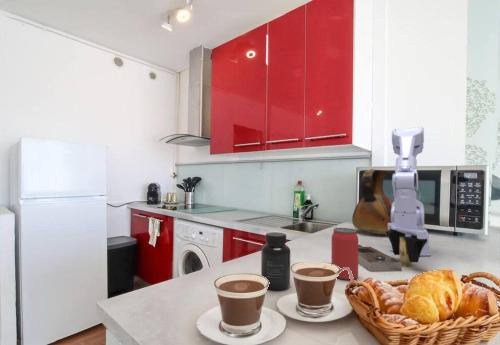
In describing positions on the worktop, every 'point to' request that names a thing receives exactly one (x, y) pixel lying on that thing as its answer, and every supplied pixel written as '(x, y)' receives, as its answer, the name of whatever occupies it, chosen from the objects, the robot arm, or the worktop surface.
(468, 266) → the worktop surface
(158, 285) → the worktop surface
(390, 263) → the door strike plate
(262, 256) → the supplement bottle
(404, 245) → the brass pin
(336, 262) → the beer can
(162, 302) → the worktop surface
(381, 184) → the ceramic pitcher
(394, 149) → the robot arm
